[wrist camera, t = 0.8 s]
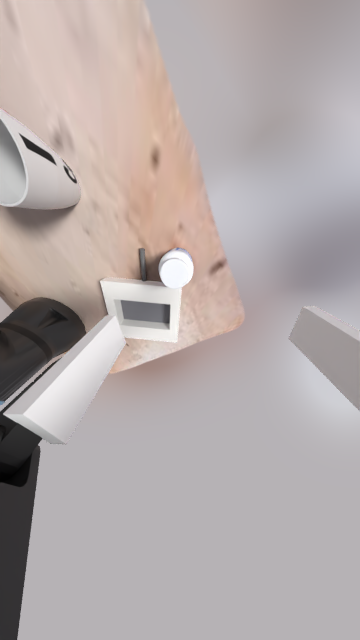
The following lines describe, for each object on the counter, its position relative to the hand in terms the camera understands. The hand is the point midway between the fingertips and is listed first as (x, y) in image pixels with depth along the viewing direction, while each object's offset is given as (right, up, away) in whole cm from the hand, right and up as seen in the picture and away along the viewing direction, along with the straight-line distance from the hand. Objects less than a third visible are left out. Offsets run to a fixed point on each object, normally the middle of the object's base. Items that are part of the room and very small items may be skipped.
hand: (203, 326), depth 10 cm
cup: (-20, +22, +11) cm, 32 cm away
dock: (-9, +6, +21) cm, 23 cm away
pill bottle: (-2, +12, +16) cm, 20 cm away
